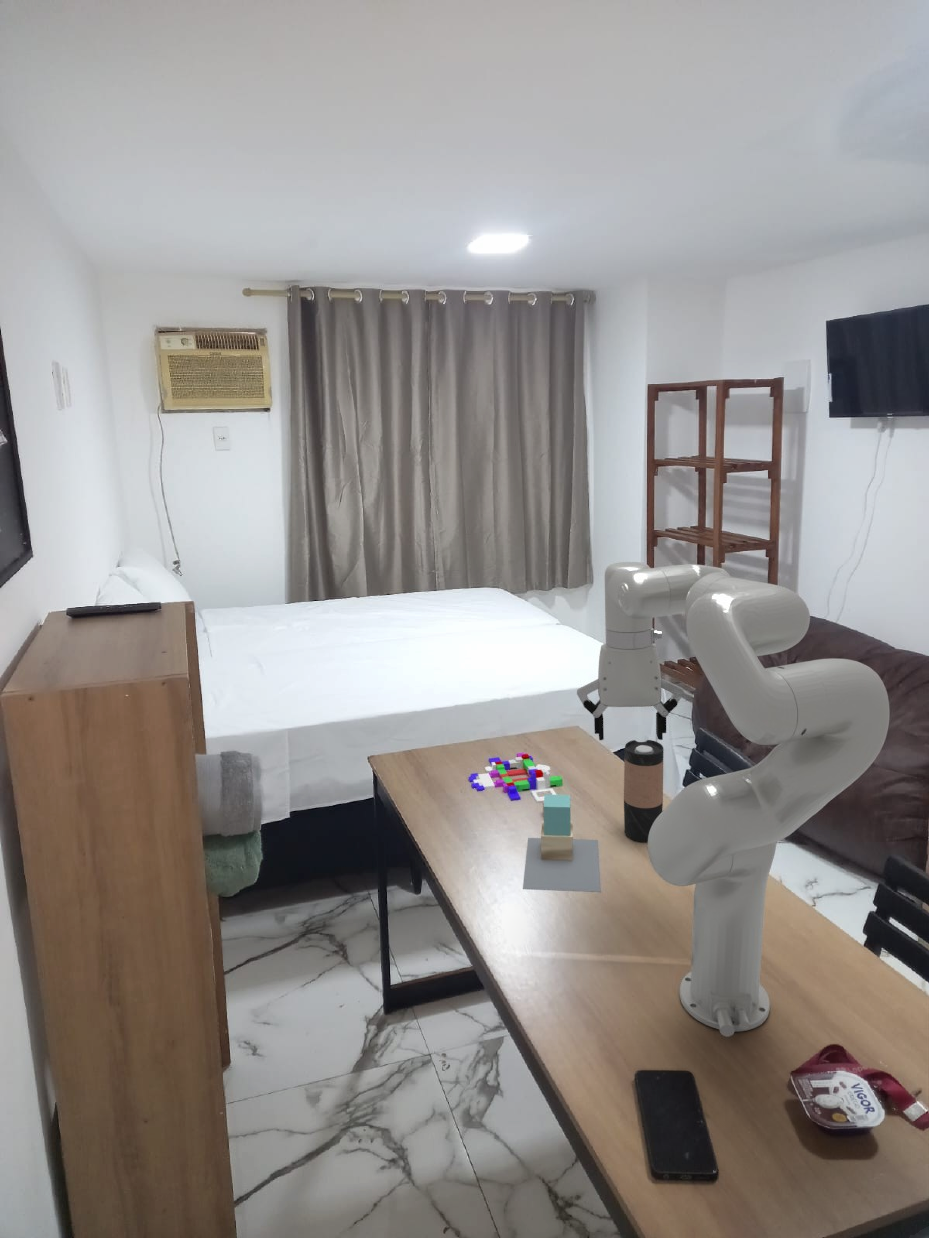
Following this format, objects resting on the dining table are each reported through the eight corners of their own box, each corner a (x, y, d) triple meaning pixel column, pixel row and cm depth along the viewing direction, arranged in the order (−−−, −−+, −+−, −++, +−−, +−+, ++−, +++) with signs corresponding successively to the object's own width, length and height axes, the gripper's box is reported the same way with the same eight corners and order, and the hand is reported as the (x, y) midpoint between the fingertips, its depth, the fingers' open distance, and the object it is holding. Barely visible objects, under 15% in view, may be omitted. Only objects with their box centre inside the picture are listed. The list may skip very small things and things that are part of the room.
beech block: (572, 860, 155) (572, 837, 154) (541, 859, 156) (540, 836, 154) (572, 844, 161) (572, 821, 159) (542, 843, 161) (542, 820, 160)
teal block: (570, 835, 154) (570, 807, 153) (544, 835, 155) (543, 806, 153) (570, 822, 159) (570, 795, 157) (545, 822, 160) (544, 794, 158)
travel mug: (646, 852, 159) (648, 758, 154) (615, 838, 164) (616, 746, 159) (669, 837, 163) (672, 746, 158) (638, 824, 169) (640, 735, 164)
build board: (600, 896, 145) (600, 891, 145) (522, 893, 147) (522, 888, 147) (598, 844, 162) (598, 839, 162) (528, 842, 164) (528, 837, 164)
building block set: (461, 765, 202) (460, 749, 201) (540, 756, 205) (540, 739, 204) (482, 812, 178) (481, 794, 177) (571, 801, 181) (571, 782, 180)
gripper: (680, 631, 134) (679, 728, 138) (575, 634, 137) (577, 729, 140) (686, 642, 127) (686, 745, 131) (575, 645, 129) (578, 745, 133)
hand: (630, 737), depth 136 cm, fingers open, 9 cm apart
